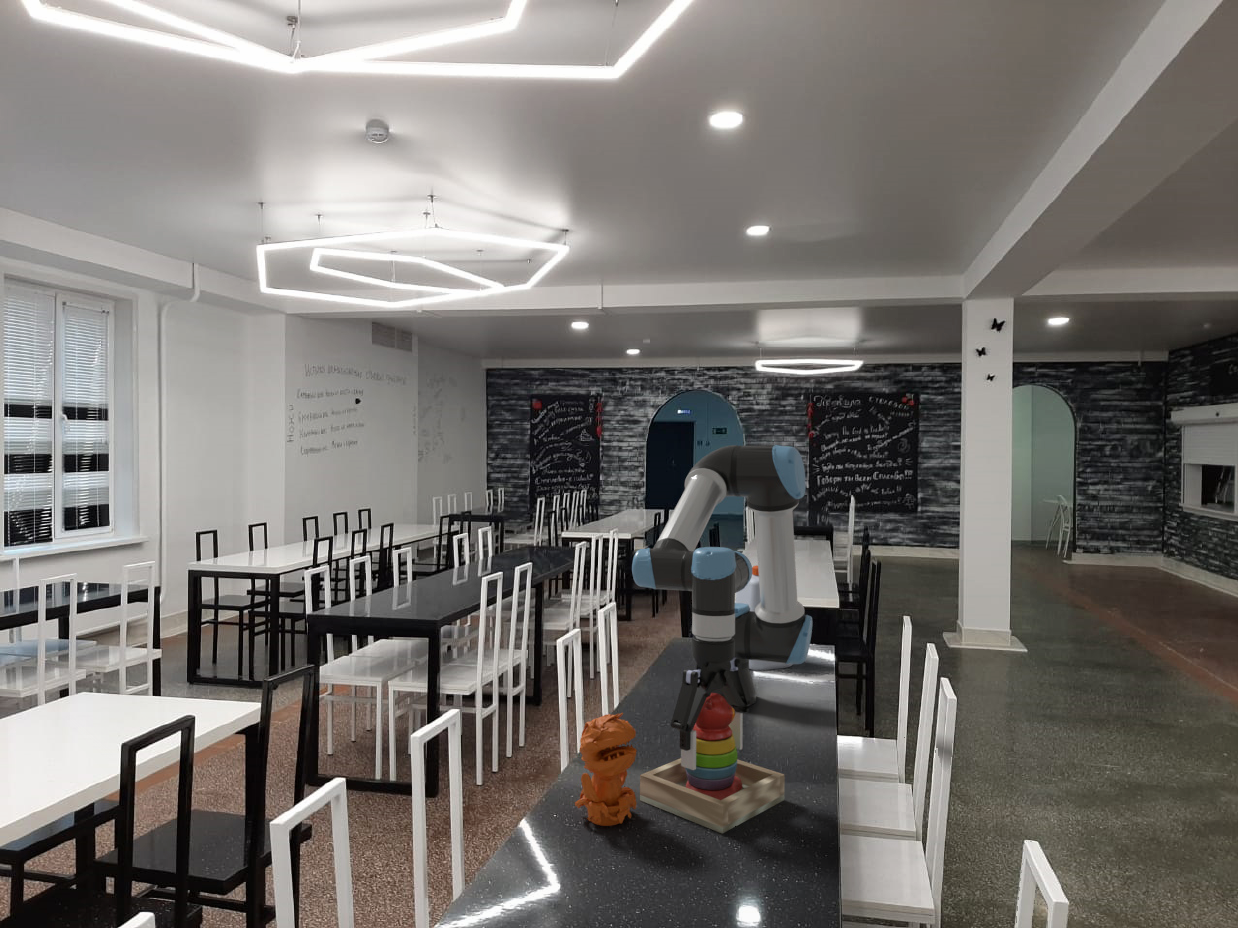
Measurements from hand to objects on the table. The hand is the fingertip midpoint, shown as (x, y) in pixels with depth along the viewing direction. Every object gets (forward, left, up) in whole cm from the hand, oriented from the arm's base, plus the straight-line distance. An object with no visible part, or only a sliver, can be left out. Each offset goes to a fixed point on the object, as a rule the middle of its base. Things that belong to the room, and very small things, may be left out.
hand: (712, 757), depth 147 cm
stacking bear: (0, 0, -7) cm, 7 cm away
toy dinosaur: (+18, -8, -8) cm, 21 cm away
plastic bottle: (-84, -47, -8) cm, 97 cm away
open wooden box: (0, 0, -8) cm, 8 cm away
